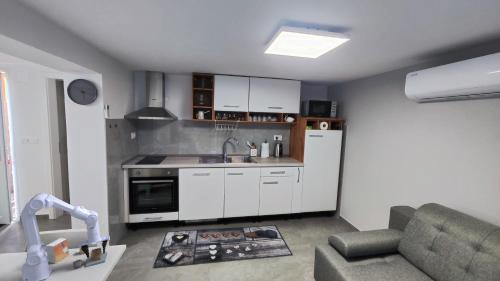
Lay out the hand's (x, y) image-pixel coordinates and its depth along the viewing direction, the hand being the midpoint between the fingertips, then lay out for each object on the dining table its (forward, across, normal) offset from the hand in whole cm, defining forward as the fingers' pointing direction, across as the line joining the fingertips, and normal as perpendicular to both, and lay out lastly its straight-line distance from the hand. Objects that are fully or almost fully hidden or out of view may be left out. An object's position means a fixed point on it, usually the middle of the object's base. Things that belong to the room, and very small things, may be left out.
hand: (96, 254), depth 128 cm
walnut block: (+2, 0, 0) cm, 2 cm away
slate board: (+3, 0, 0) cm, 3 cm away
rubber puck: (+3, -8, -2) cm, 9 cm away
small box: (+3, -20, +12) cm, 24 cm away
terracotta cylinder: (+3, -8, +12) cm, 15 cm away
